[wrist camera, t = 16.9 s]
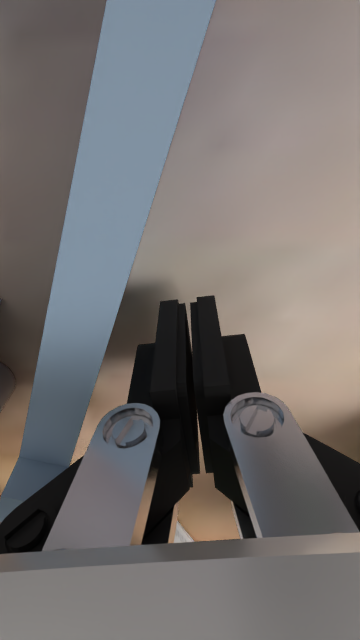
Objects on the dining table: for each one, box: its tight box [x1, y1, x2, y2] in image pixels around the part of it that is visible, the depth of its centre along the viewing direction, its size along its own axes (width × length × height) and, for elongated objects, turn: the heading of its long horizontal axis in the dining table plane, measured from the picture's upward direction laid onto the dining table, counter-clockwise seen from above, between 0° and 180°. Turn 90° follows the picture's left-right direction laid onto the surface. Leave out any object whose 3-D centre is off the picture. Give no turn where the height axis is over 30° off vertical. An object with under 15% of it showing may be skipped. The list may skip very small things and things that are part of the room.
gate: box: [0, 0, 216, 522], centre depth 8 cm, size 12×1×6 cm, turn 160°
